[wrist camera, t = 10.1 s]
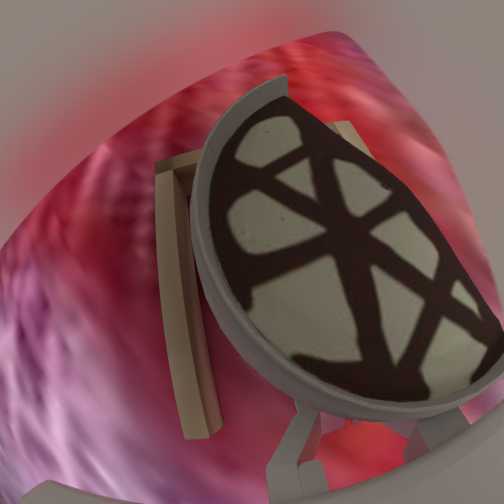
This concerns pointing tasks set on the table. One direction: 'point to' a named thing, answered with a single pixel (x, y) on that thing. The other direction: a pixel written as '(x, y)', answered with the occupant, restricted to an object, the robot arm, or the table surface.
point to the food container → (333, 270)
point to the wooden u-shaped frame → (191, 291)
